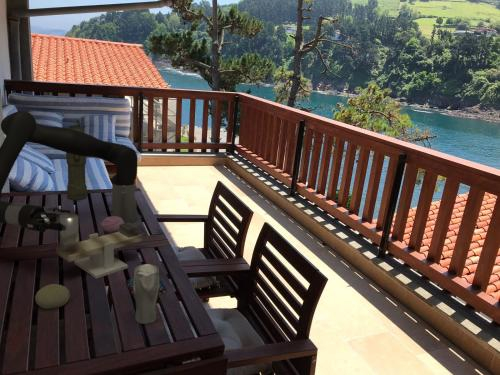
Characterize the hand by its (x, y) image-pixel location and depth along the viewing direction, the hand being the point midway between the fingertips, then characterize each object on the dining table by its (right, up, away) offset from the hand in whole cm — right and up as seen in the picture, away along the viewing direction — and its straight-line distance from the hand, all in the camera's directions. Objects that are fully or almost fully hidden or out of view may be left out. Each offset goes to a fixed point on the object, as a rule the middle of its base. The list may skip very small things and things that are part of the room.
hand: (70, 223), depth 142 cm
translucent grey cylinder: (-1, -8, +2) cm, 9 cm away
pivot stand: (+5, -16, +13) cm, 21 cm away
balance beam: (+6, -8, +10) cm, 14 cm away
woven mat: (+23, -21, +1) cm, 32 cm away
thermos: (-28, +6, +79) cm, 84 cm away
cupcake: (+3, -10, +33) cm, 35 cm away
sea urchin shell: (-1, -22, -11) cm, 25 cm away
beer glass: (+27, -26, -15) cm, 40 cm away
